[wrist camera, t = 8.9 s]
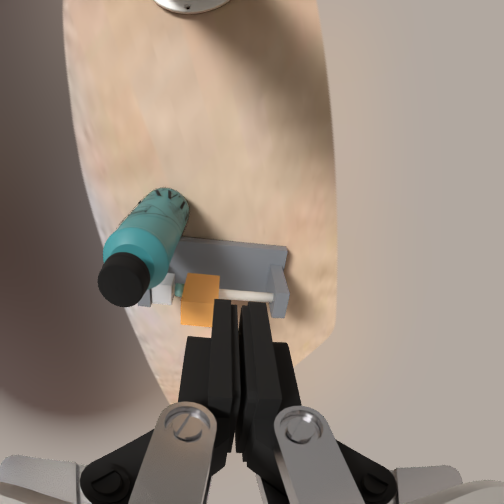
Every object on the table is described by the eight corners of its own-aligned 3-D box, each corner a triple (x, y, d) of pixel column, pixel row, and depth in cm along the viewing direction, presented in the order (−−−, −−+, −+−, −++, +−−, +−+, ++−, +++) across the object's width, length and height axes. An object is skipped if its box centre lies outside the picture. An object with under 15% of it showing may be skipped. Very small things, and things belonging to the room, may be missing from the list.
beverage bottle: (202, 208, 40) (179, 292, 22) (166, 239, 42) (126, 335, 24) (168, 172, 38) (114, 230, 20) (133, 205, 40) (67, 282, 22)
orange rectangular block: (187, 272, 38) (180, 301, 33) (219, 275, 39) (218, 304, 33) (186, 294, 40) (180, 324, 34) (217, 297, 40) (216, 327, 34)
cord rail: (148, 233, 41) (131, 263, 34) (285, 246, 43) (297, 278, 36) (149, 283, 45) (135, 319, 37) (276, 295, 47) (284, 332, 39)
